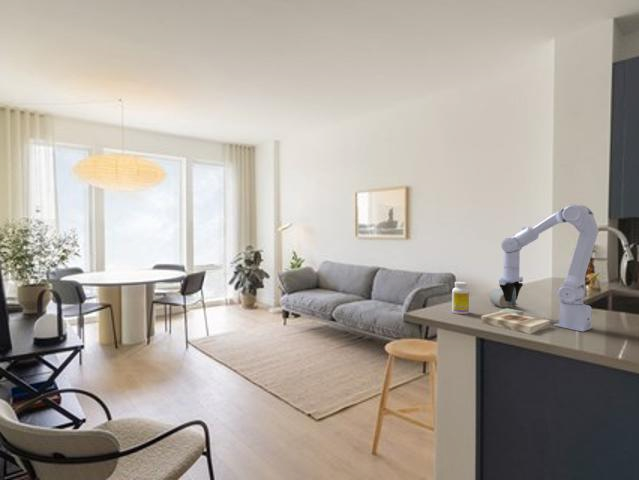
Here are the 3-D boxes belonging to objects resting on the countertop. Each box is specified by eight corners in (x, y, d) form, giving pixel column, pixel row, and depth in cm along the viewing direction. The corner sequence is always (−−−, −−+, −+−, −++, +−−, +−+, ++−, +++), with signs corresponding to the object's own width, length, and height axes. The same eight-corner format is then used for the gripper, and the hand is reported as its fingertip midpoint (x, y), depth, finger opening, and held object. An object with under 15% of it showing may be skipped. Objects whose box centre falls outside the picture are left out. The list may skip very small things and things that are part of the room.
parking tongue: (523, 316, 151) (523, 311, 151) (514, 318, 147) (514, 313, 147) (506, 312, 156) (506, 308, 156) (497, 315, 152) (497, 310, 152)
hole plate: (549, 327, 135) (549, 320, 135) (530, 333, 127) (530, 326, 127) (501, 317, 150) (501, 310, 149) (481, 322, 142) (481, 315, 141)
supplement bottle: (471, 314, 154) (471, 283, 153) (454, 314, 154) (455, 283, 153) (465, 310, 160) (465, 281, 160) (449, 310, 160) (449, 281, 160)
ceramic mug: (500, 309, 163) (500, 291, 163) (488, 305, 172) (489, 288, 171) (522, 308, 165) (522, 291, 165) (509, 304, 173) (510, 288, 173)
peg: (517, 304, 151) (517, 287, 151) (512, 305, 149) (513, 288, 148) (508, 302, 154) (509, 286, 153) (504, 303, 152) (504, 286, 151)
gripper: (511, 265, 158) (510, 297, 159) (492, 267, 150) (491, 301, 150) (528, 267, 152) (527, 299, 153) (509, 269, 144) (508, 304, 145)
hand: (510, 300), depth 151 cm, fingers closed on peg, 4 cm apart
